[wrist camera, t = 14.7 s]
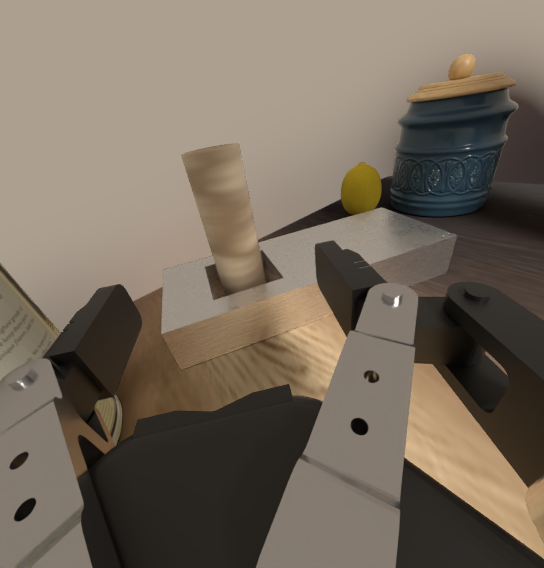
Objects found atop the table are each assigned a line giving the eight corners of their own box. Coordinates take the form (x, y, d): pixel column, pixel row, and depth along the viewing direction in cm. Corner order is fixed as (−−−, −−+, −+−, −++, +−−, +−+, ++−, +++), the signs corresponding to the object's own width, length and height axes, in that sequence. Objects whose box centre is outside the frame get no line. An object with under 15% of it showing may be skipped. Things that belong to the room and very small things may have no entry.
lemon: (356, 228, 36) (359, 168, 32) (333, 218, 41) (333, 164, 36) (387, 218, 38) (393, 159, 33) (361, 209, 42) (364, 156, 37)
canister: (370, 204, 43) (380, 71, 33) (427, 186, 47) (451, 60, 37) (441, 226, 33) (485, 44, 23) (507, 201, 36) (571, 32, 26)
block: (378, 237, 33) (381, 207, 31) (446, 272, 25) (457, 235, 23) (177, 300, 28) (163, 269, 26) (181, 370, 20) (161, 334, 18)
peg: (263, 289, 27) (232, 142, 19) (275, 311, 24) (245, 145, 16) (227, 301, 26) (180, 153, 19) (235, 325, 23) (182, 158, 15)
